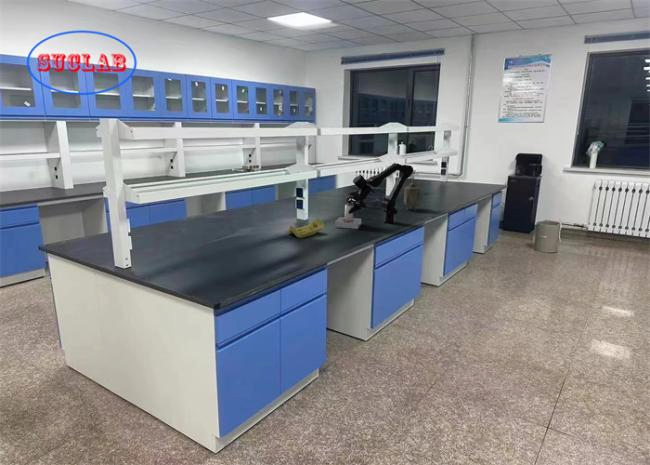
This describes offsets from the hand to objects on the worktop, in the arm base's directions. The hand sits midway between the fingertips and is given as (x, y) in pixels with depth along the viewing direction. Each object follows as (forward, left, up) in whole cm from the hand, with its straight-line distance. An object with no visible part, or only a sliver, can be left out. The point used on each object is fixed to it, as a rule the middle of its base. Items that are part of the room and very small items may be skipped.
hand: (346, 212), depth 262 cm
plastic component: (+27, -18, -9) cm, 33 cm away
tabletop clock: (-66, +37, -9) cm, 77 cm away
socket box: (-1, +1, -8) cm, 9 cm away
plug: (-1, +1, -7) cm, 7 cm away
